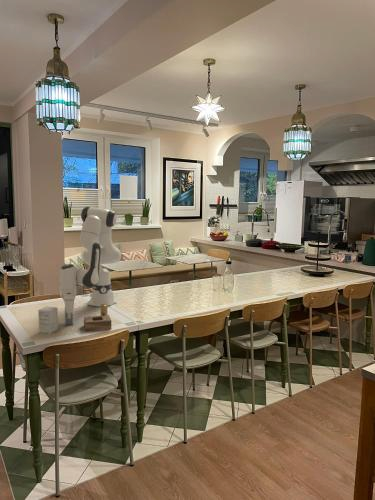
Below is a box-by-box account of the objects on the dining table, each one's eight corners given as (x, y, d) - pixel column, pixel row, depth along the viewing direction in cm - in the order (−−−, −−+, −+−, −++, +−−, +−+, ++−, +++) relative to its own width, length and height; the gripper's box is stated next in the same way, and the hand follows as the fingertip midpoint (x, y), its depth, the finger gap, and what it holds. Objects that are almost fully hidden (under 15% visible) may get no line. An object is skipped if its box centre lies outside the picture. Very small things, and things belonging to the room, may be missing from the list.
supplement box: (47, 327, 212) (46, 306, 211) (58, 329, 210) (58, 307, 208) (38, 332, 205) (37, 309, 204) (50, 333, 203) (49, 311, 201)
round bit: (100, 320, 227) (100, 304, 226) (107, 319, 228) (106, 303, 227) (101, 322, 223) (100, 305, 222) (108, 321, 225) (107, 305, 223)
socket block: (84, 325, 217) (83, 317, 216) (108, 323, 222) (108, 315, 221) (85, 331, 208) (85, 322, 207) (111, 328, 213) (111, 320, 212)
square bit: (65, 323, 220) (64, 306, 219) (72, 322, 221) (71, 306, 220) (65, 325, 216) (65, 308, 215) (72, 325, 218) (72, 308, 216)
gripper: (61, 289, 225) (62, 311, 227) (63, 297, 206) (63, 322, 208) (72, 288, 227) (73, 310, 229) (75, 297, 208) (75, 321, 210)
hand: (68, 316), depth 218 cm, fingers open, 6 cm apart
